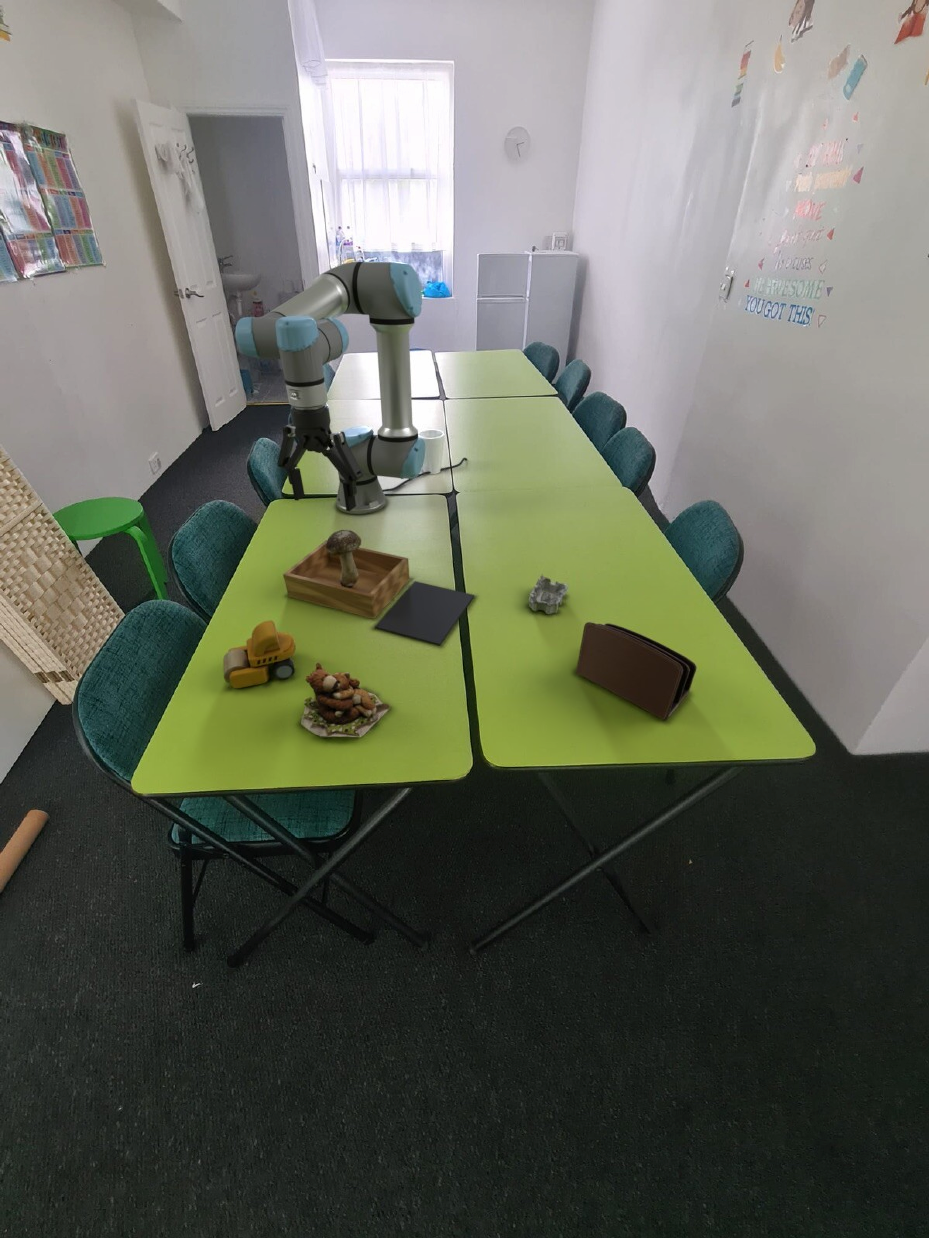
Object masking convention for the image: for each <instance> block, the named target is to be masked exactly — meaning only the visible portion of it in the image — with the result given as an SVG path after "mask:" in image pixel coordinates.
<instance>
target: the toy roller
mask: <svg viewBox="0 0 929 1238" xmlns="http://www.w3.org/2000/svg"><path fill="white" fill-rule="evenodd" d="M296 650H297V646H296V641H295V639H294V637H293V635H291V634H289V633H285V632H282V631H277V627H276V623H275V621H274V620H270V619H269V620H265V621H261V622H259V624H257V625H256V626H255V627H254V629H253V630H252V633H251V637H249V638H248V639H246V645H240V646H236V647H231V648H229V649H228V651H227V652H226V653H225V654H224V656H223V659H222V662H223V663H222V664H223V679H224V681H225V683H227V684H228V685H230V686H231V687H232V688H234V689H241V688H242V689H243V688H246V687H247V688H248V687H253V686H257V685H261V684H262V685H263V684H265V683H267V682H268V681H269V679H270V677H271V676H270V669H269V665H270V664H272V665H273V668H272V671H273V676H274V677H275V678H276V679H278V680H281V681H283V680H288V679H290V678H292V677H293V676H294V675H295V673H296V668H295V664H294V662H293V660H292V658H291V657H292V656H293V655H294V654H295V652H296Z"/></svg>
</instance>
